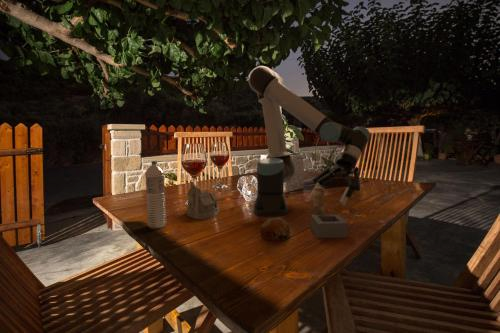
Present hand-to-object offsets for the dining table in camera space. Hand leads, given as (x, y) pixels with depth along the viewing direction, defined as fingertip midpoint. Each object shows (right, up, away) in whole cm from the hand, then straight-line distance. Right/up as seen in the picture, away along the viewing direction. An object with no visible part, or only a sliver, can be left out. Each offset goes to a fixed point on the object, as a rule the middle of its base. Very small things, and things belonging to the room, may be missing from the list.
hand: (326, 200), depth 109 cm
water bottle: (-65, -10, -1) cm, 66 cm away
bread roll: (-21, -11, -12) cm, 27 cm away
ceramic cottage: (-49, -8, +16) cm, 53 cm away
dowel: (-3, -9, 0) cm, 9 cm away
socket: (-2, -10, -10) cm, 14 cm away
